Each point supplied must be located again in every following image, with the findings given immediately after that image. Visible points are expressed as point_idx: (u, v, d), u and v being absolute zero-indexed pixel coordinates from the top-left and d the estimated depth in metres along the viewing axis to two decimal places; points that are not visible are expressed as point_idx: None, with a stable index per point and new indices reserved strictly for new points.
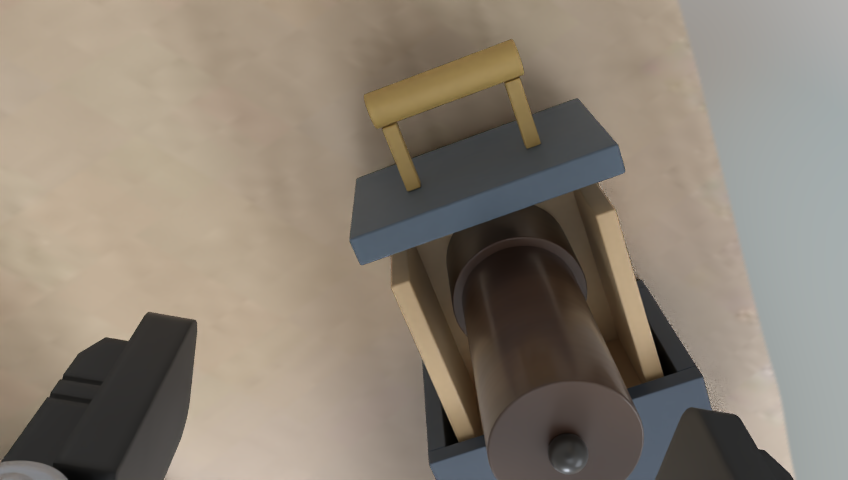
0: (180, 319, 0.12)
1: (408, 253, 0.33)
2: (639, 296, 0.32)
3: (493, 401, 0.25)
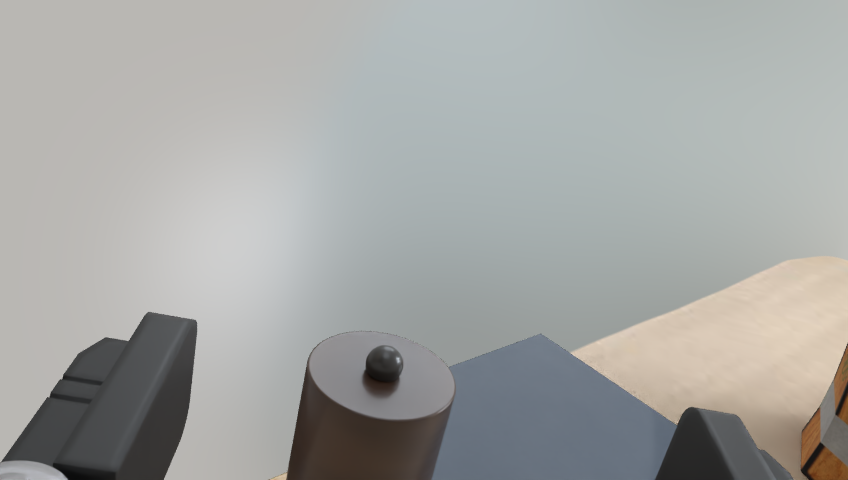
0: (180, 319, 0.12)
1: None
2: None
3: (367, 442, 0.24)
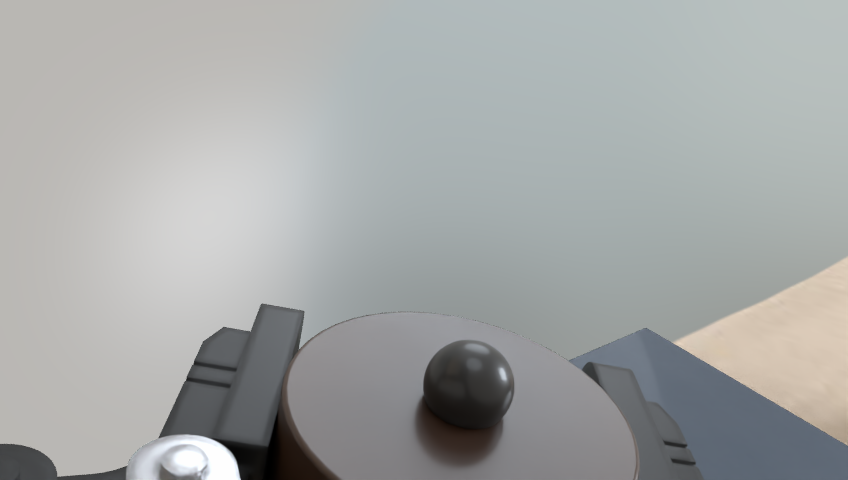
0: (292, 310, 0.13)
1: None
2: None
3: None
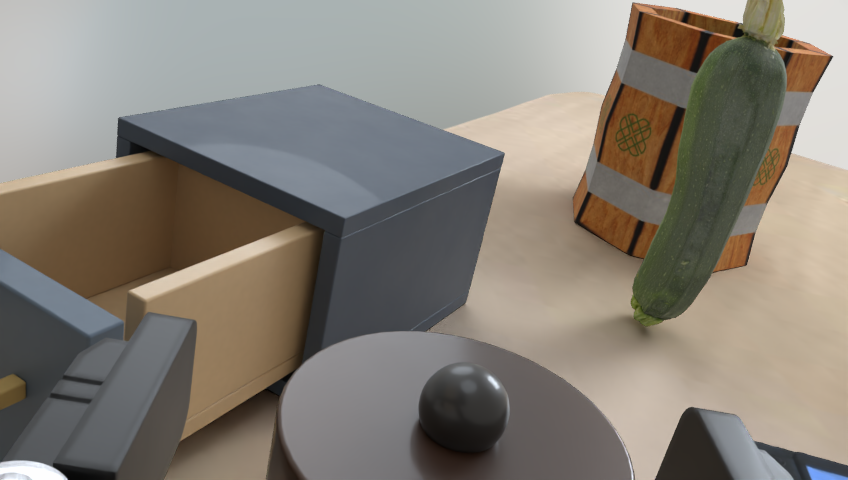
0: (180, 319, 0.12)
1: None
2: None
3: None
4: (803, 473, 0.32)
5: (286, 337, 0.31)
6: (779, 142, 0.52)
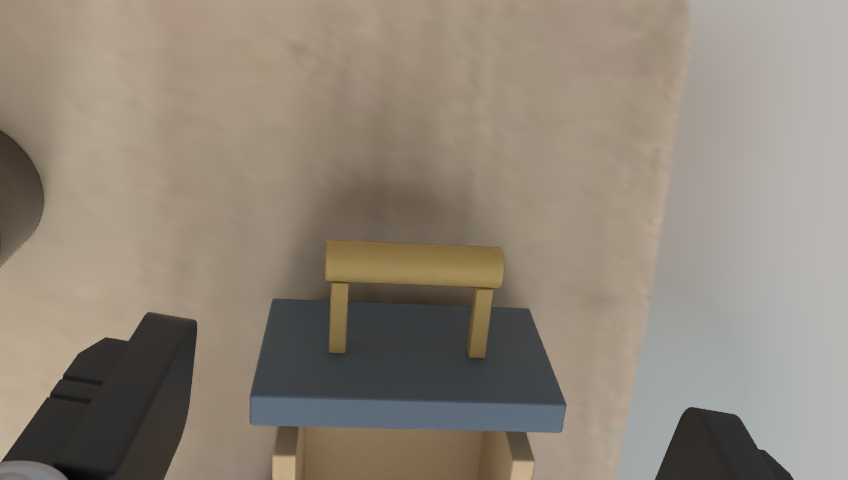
0: (180, 319, 0.12)
1: None
2: None
3: None
4: None
5: None
6: None
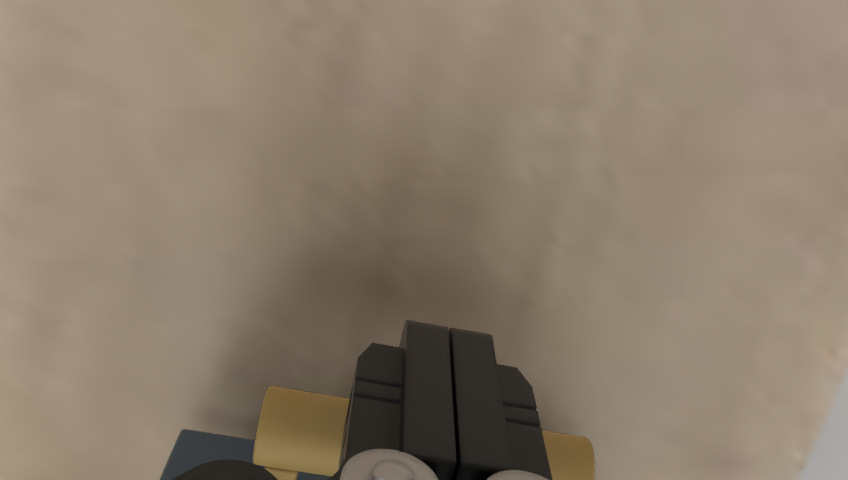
0: (437, 326, 0.13)
1: None
2: None
3: None
4: None
5: None
6: None
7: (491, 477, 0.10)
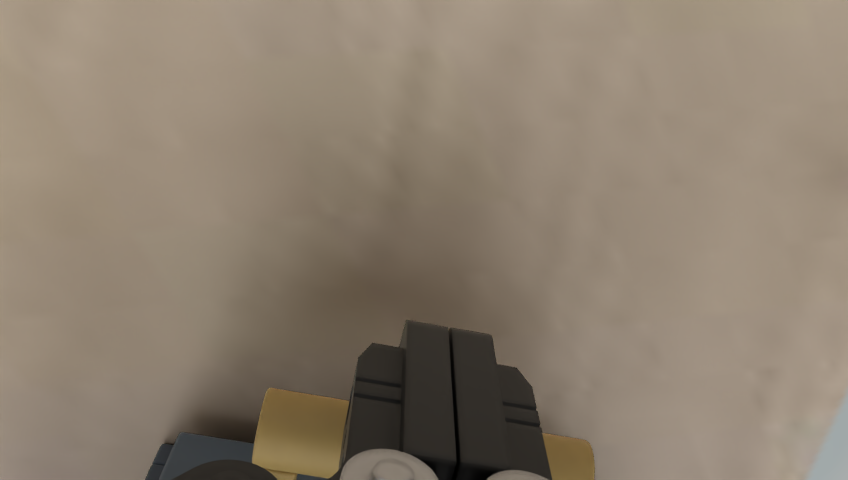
0: (437, 326, 0.13)
1: None
2: None
3: None
4: None
5: None
6: None
7: (491, 477, 0.10)
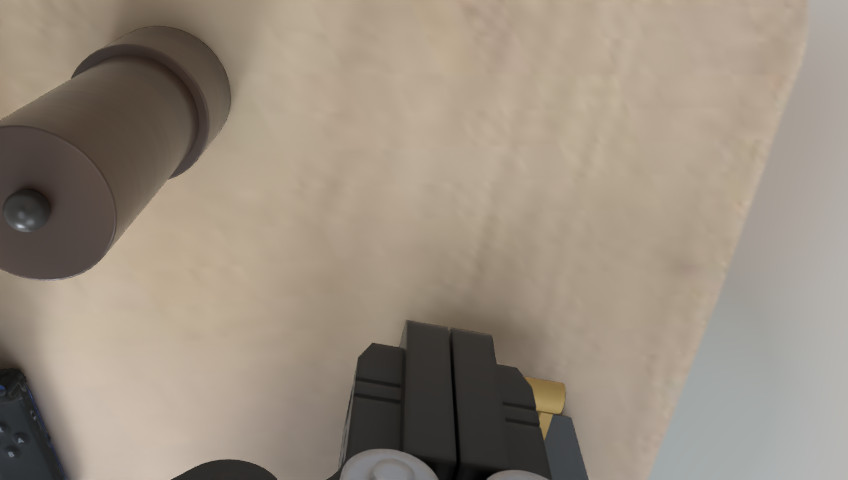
0: (437, 326, 0.13)
1: None
2: None
3: (6, 119, 0.23)
4: None
5: None
6: None
7: (491, 477, 0.10)
